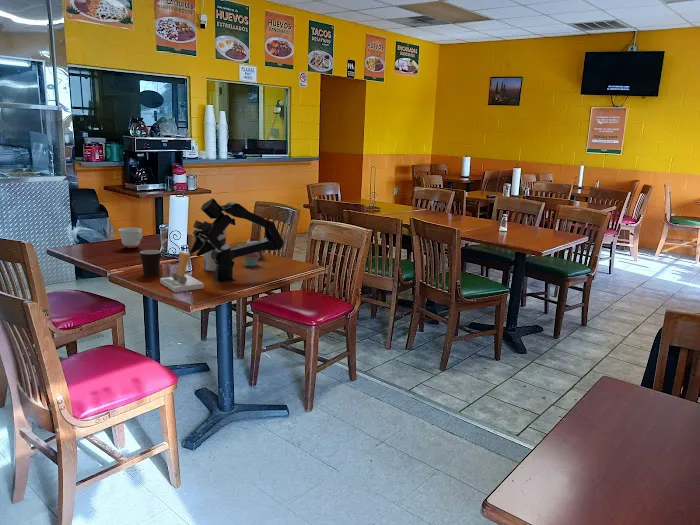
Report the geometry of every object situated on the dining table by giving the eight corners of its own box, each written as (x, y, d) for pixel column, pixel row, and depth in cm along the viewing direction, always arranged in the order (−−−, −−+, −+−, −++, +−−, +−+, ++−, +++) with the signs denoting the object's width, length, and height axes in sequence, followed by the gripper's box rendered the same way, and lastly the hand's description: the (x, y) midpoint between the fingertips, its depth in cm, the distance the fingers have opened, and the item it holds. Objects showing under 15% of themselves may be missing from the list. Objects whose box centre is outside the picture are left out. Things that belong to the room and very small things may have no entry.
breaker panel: (188, 279, 238) (187, 268, 237) (203, 288, 226) (203, 276, 225) (160, 283, 231) (160, 271, 230) (174, 292, 219) (174, 280, 218)
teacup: (132, 251, 286) (131, 232, 284) (114, 247, 293) (113, 229, 291) (151, 248, 296) (151, 229, 294) (133, 244, 303) (132, 226, 301)
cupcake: (261, 266, 266) (261, 242, 264) (243, 267, 263) (243, 242, 260) (257, 262, 274) (257, 238, 271) (240, 263, 271) (240, 239, 268)
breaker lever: (179, 277, 230) (185, 252, 229) (184, 280, 226) (190, 255, 225) (174, 277, 228) (179, 251, 228) (178, 279, 225) (184, 254, 224)
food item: (244, 253, 294) (244, 235, 292) (259, 252, 297) (259, 234, 294) (249, 259, 281) (249, 239, 279) (264, 258, 284) (265, 239, 282)
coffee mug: (155, 277, 239) (154, 254, 237) (137, 275, 241) (136, 253, 239) (169, 271, 251) (168, 249, 248) (151, 269, 252) (150, 248, 250)
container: (218, 272, 252) (218, 228, 248) (199, 269, 255) (198, 226, 251) (230, 267, 261) (229, 225, 257) (211, 265, 265) (211, 223, 260)
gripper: (196, 210, 236) (171, 238, 232) (214, 216, 222) (188, 246, 218) (214, 227, 242) (190, 254, 238) (233, 234, 228) (208, 263, 224)
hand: (193, 254), depth 229 cm, fingers open, 6 cm apart
